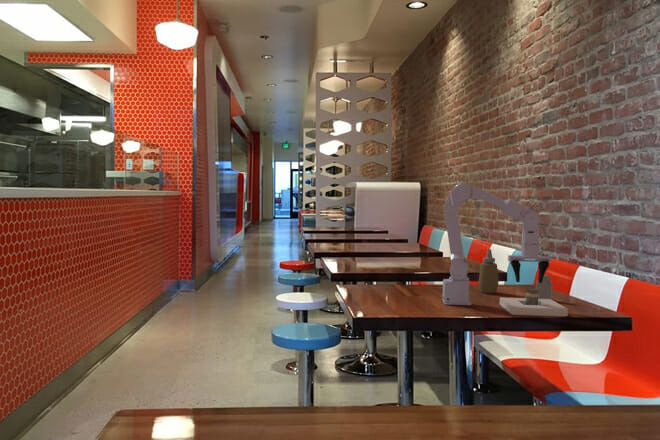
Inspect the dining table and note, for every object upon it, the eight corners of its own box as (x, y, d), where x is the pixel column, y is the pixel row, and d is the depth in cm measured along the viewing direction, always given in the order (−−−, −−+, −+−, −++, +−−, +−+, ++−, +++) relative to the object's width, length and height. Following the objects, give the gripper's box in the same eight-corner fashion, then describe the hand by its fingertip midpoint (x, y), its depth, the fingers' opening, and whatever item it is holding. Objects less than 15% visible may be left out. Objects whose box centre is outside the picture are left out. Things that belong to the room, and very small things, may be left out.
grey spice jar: (527, 311, 185) (527, 291, 185) (523, 308, 189) (524, 289, 189) (539, 311, 185) (540, 291, 184) (536, 309, 189) (536, 289, 189)
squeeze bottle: (500, 292, 223) (502, 249, 222) (495, 295, 216) (496, 250, 215) (481, 290, 227) (482, 248, 226) (475, 292, 220) (476, 249, 219)
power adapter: (536, 299, 209) (537, 268, 208) (551, 300, 206) (552, 269, 205) (535, 300, 206) (536, 269, 206) (550, 301, 203) (551, 270, 203)
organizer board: (511, 314, 179) (512, 307, 179) (499, 304, 197) (499, 297, 196) (567, 316, 177) (567, 309, 177) (550, 305, 195) (550, 299, 195)
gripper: (547, 243, 192) (546, 281, 193) (506, 242, 193) (505, 279, 194) (554, 245, 185) (552, 284, 186) (511, 243, 186) (509, 282, 187)
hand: (528, 282), depth 189 cm, fingers open, 7 cm apart
